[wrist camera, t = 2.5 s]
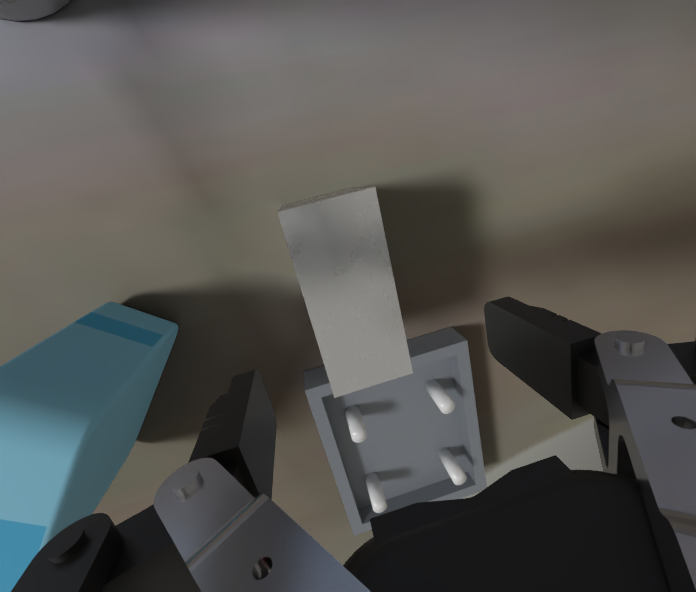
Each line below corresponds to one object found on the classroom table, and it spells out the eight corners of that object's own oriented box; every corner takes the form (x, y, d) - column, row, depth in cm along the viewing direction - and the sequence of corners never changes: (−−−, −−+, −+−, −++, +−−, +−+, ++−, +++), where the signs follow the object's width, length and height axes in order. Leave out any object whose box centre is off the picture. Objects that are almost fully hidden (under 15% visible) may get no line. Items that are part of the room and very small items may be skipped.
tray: (303, 371, 27) (305, 402, 23) (451, 326, 28) (477, 348, 24) (349, 508, 32) (357, 552, 28) (471, 466, 33) (496, 503, 29)
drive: (282, 205, 23) (277, 212, 14) (344, 189, 23) (375, 186, 15) (320, 331, 26) (334, 397, 18) (373, 315, 26) (412, 373, 18)
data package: (117, 294, 23) (-54, 394, 11) (184, 317, 24) (89, 428, 13) (71, 431, 25) (-108, 627, 14) (134, 446, 26) (17, 637, 15)
